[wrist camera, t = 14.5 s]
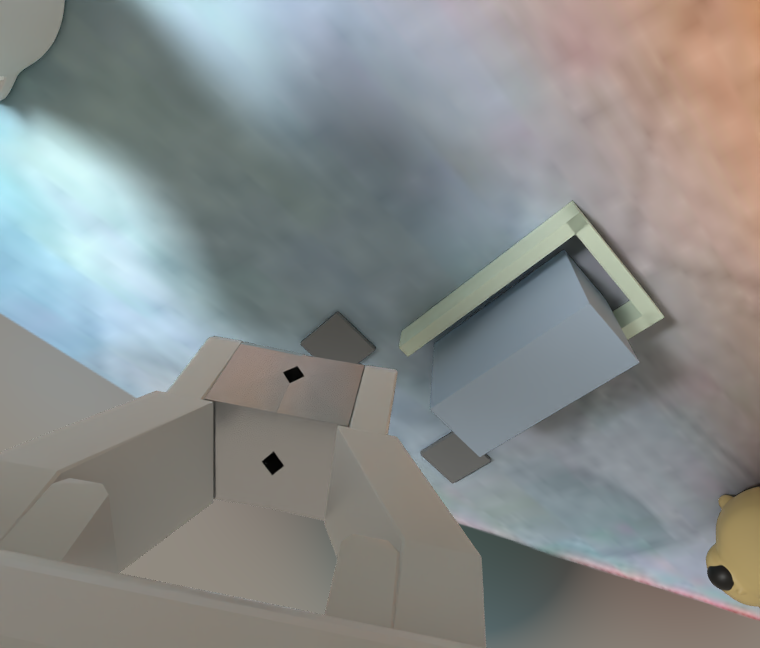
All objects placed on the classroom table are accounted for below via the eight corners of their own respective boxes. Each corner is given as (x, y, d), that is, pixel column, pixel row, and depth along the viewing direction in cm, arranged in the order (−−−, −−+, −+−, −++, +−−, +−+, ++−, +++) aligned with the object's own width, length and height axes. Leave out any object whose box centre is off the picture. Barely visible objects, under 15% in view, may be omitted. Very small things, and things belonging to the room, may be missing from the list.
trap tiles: (452, 480, 59) (452, 483, 58) (301, 341, 53) (300, 344, 52) (490, 458, 57) (490, 461, 56) (337, 311, 51) (336, 313, 50)
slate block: (475, 385, 53) (479, 457, 44) (434, 343, 51) (429, 409, 43) (605, 299, 47) (639, 362, 39) (563, 249, 46) (589, 303, 37)
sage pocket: (480, 409, 54) (482, 429, 51) (401, 331, 51) (398, 347, 48) (652, 300, 47) (664, 317, 44) (572, 200, 44) (580, 212, 41)
